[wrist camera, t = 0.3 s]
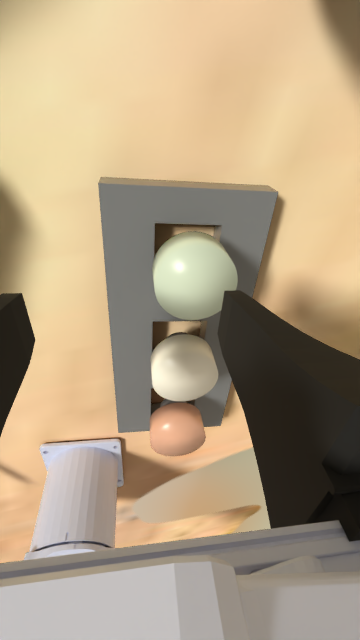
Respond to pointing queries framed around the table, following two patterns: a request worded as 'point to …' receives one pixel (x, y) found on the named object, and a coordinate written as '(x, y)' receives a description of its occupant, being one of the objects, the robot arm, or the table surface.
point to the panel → (138, 286)
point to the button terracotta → (176, 428)
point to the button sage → (192, 275)
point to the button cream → (183, 367)
